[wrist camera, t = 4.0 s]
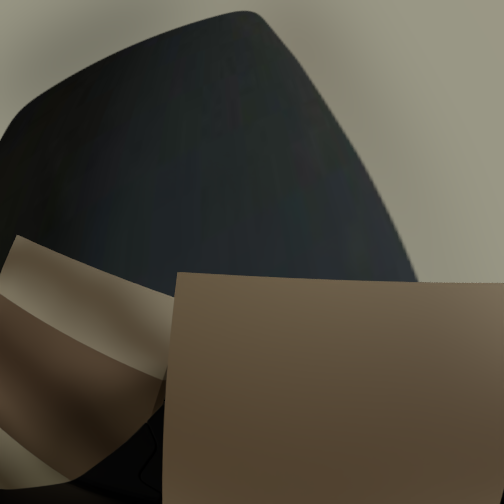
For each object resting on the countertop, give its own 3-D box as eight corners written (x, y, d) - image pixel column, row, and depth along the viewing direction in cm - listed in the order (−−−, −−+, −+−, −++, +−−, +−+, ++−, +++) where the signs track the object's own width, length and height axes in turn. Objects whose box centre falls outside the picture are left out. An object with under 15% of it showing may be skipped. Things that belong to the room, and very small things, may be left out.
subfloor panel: (109, 590, 9) (101, 600, 7) (-27, 493, 10) (-38, 496, 9) (194, 309, 16) (189, 302, 15) (29, 243, 18) (17, 234, 16)
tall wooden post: (323, 438, 14) (484, 561, 2) (229, 436, 14) (157, 604, 2) (327, 350, 15) (515, 273, 3) (234, 346, 16) (165, 258, 3)
